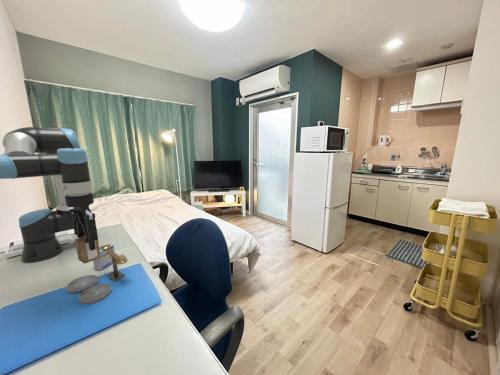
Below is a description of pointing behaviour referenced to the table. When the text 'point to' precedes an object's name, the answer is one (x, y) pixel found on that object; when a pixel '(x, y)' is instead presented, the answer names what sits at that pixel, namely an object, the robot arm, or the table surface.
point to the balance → (115, 262)
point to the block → (83, 252)
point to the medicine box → (103, 259)
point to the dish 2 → (95, 293)
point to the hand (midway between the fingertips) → (89, 255)
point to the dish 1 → (82, 283)
